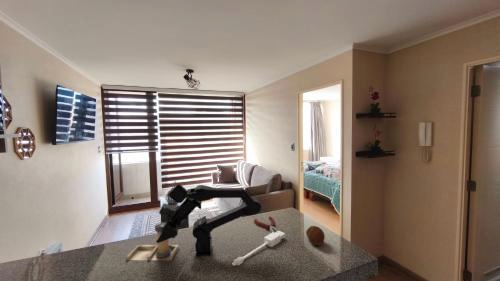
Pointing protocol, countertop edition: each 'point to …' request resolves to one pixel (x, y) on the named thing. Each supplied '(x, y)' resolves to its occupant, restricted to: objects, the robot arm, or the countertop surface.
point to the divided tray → (149, 252)
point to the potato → (315, 235)
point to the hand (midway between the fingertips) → (159, 236)
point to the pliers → (272, 227)
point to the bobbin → (162, 244)
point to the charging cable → (268, 240)
